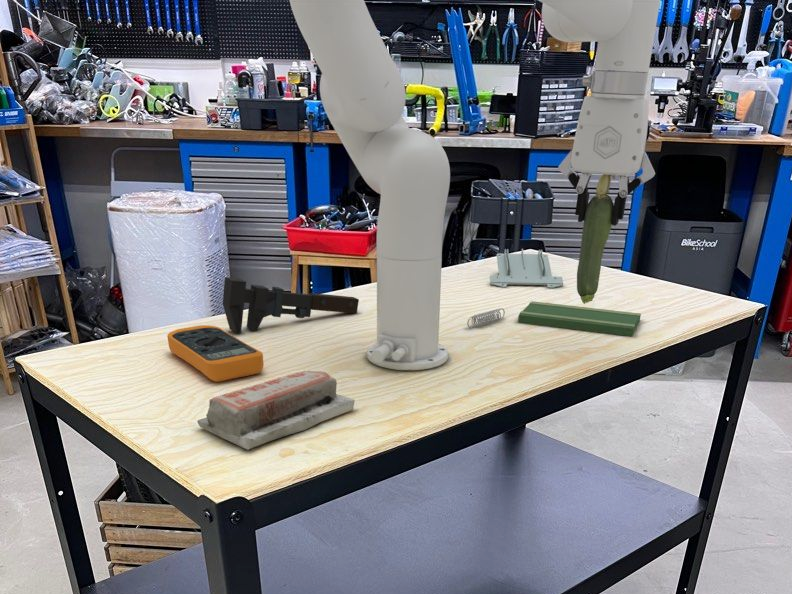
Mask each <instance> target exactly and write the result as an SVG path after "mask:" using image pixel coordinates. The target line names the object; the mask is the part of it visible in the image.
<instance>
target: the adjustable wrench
mask: <svg viewBox="0 0 792 594" xmlns="http://www.w3.org/2000/svg"><path fill="white" fill-rule="evenodd" d="M284 290H285V289H284V288H282V287H279V286H272V288H271V290H270V288H268V287H266V286H264V285H259V284H250V288H247V281H246V280H243V279H241V278H238V277H228V276H225V277H224V284H223V294H222V295H223V296H222V307H223V310H224V315H225V316H226V317H225V318H226V320H227V324H228V328H229V330H231V331H232V332H233V333H235V334H242V329H243V328H242V327H243V318H244V317H243V315H244V310H245V309H244V308H245V304H248V310H247V320H246V328H247V329H249V330H250V331H252V332H258V329H259V327H260V326H261V323H262V321H263V320H264V318H266V317H269V316H271V317H273V318H281V315H290V316H291V315H294V316H295V318H297V319H304V318H311V313H312V311H318V312H319V311H321V312H333V313H345V314H346V313H347V314H358V308H359V303H360V299H359V298H357V297H354V296H348V295H347V296H346V295H335V294H326V293H315V292H308V293H299V292H289V291H288V292H287V291H284ZM284 307H291V308H284Z"/></svg>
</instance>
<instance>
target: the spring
mask: <svg viewBox="0 0 792 594" xmlns="http://www.w3.org/2000/svg"><path fill="white" fill-rule="evenodd" d="M501 310H502V311H503V314H501V312H500V311H501ZM505 312H506V311H505V309H504V308H502V307H501V308H496V309H492V310H489V311H485V312H481V313H478V314H474V315H471V316H470V317H469V318H468V320H467V324H466V325H467V327H468V328H469V329H472V328H473V327H475V328H477V327H478V328H479V327H481V326H484V325H488V324H491V323H495V322H498V321H500V320H502V319H504V317H505V314H506V313H505ZM470 320H471V324H472V326H470Z"/></svg>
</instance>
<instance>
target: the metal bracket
mask: <svg viewBox="0 0 792 594" xmlns="http://www.w3.org/2000/svg"><path fill="white" fill-rule="evenodd" d="M520 252H521V253H509V249H508V248H507V249H506V248H505V249H504V253H496V264H497V271H498V274H497V275H495V274H491V275H489V282H490V285H493V286H497V287H500V288H507V286H508V285H526V286H527V285H530V286H547V288H548V289H555V288H558V287H562V286H564V280H563V277H562V276H555V275H554V276H553V273H552V268H551V264H550V259H549V255H548V254H547V253H546V254H545V253H544V254H543V249H538V253H524V248H521V251H520Z"/></svg>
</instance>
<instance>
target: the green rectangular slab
mask: <svg viewBox="0 0 792 594" xmlns="http://www.w3.org/2000/svg"><path fill="white" fill-rule="evenodd" d="M641 316H642V313H639V312H629V311H621V310H611V309H604V308H596V307H595V308H594V307H588V306H587V307H586V306H576V305H569V304H561V303H560V304H559V303H550V302H544V301H543V302H542V301H533V300H531V301H529V303H528V305H526V307H525V308H524V309H523V310H521V311H520V312H519V313H518V316H517V317H518V318H517V323H519V324H528V325H535V326H543V327H550V328H559V329H569V330H575V331H576V330H577V331H585V332H593V333H601V334H610V335H617V336H624V337H633V336H634V333H635V332H636V330H637V328H638V325H639V323H640V322H641Z"/></svg>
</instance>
